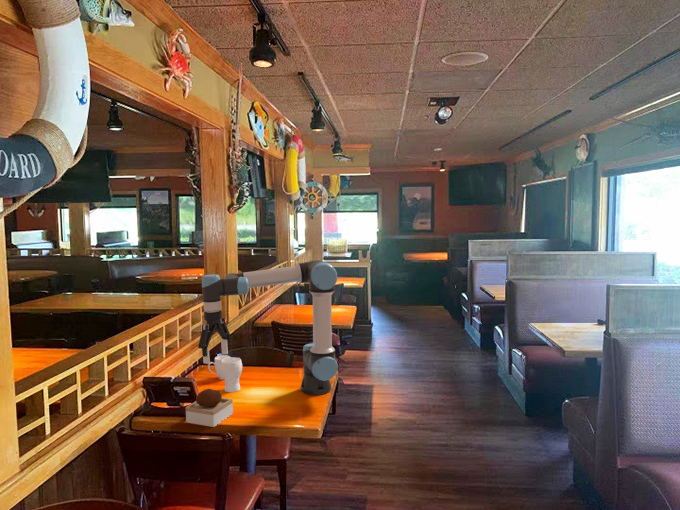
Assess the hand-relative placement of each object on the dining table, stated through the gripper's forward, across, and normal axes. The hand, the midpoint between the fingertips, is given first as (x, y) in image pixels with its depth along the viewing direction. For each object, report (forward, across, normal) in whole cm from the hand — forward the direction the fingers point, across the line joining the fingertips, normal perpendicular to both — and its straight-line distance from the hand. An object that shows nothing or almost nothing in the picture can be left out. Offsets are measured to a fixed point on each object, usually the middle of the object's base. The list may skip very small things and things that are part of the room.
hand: (216, 358), depth 217 cm
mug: (+25, -38, -26) cm, 53 cm away
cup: (+26, -27, -11) cm, 39 cm away
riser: (+25, +5, -2) cm, 26 cm away
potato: (+20, +5, -1) cm, 21 cm away
